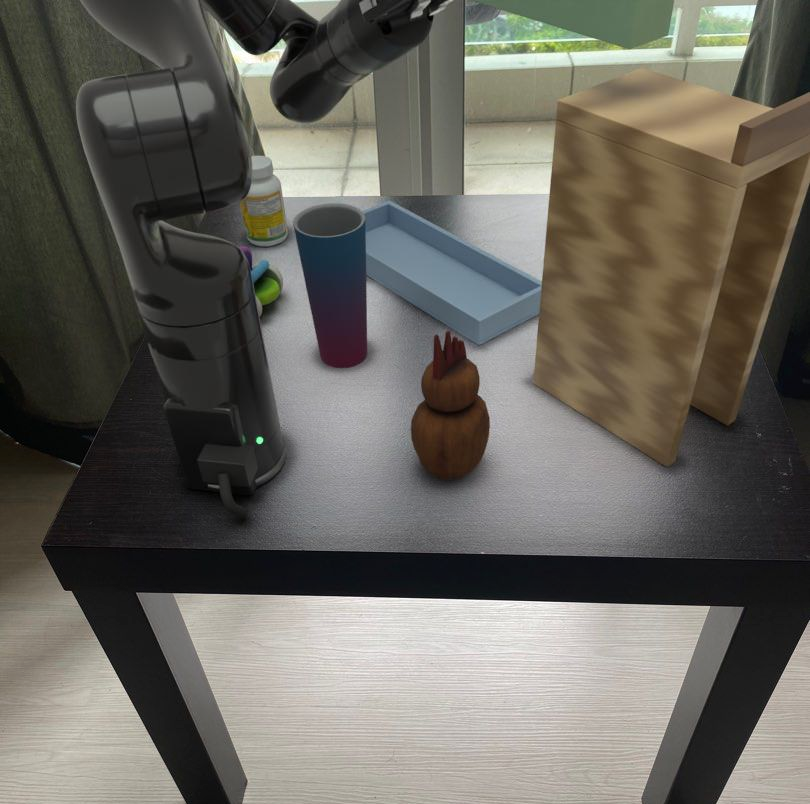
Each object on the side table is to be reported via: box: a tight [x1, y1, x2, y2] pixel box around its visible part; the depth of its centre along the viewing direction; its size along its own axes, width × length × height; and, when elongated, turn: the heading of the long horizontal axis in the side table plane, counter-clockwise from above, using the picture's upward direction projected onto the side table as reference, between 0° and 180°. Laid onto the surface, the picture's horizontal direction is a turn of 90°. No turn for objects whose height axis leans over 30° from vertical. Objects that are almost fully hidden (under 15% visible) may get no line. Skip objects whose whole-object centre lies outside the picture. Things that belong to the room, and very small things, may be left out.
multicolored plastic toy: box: [238, 245, 284, 317], centre depth 95 cm, size 8×10×7 cm
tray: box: [361, 200, 542, 346], centre depth 99 cm, size 28×10×3 cm, turn 39°
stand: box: [532, 67, 810, 468], centre depth 72 cm, size 17×10×30 cm, turn 39°
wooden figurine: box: [410, 330, 491, 481], centre depth 72 cm, size 7×6×15 cm
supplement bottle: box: [239, 155, 289, 247], centre depth 105 cm, size 5×5×10 cm
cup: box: [292, 202, 368, 369], centre depth 85 cm, size 7×7×15 cm
